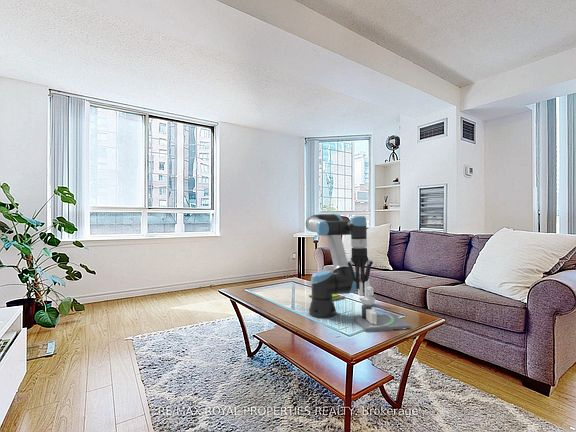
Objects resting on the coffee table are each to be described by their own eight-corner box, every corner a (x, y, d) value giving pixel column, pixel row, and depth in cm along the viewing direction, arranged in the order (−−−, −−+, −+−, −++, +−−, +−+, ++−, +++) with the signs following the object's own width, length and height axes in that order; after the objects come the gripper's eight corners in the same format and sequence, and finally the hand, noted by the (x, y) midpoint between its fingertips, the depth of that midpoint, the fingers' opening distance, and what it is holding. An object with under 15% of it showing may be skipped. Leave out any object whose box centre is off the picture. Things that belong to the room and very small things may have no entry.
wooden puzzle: (325, 303, 191) (324, 297, 191) (307, 297, 207) (307, 292, 207) (345, 299, 200) (345, 293, 201) (327, 293, 217) (327, 288, 217)
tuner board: (365, 331, 141) (365, 327, 141) (353, 319, 159) (353, 315, 159) (410, 328, 143) (410, 325, 143) (393, 316, 161) (393, 313, 161)
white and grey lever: (360, 316, 157) (360, 304, 157) (369, 315, 158) (369, 304, 158) (370, 325, 143) (370, 312, 144) (380, 324, 144) (380, 312, 144)
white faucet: (368, 307, 179) (367, 281, 179) (357, 303, 187) (357, 279, 188) (377, 305, 183) (376, 280, 183) (366, 301, 191) (365, 278, 191)
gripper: (348, 248, 144) (350, 298, 143) (374, 247, 145) (376, 296, 145) (344, 247, 151) (345, 294, 151) (369, 246, 153) (370, 293, 152)
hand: (360, 295), depth 148 cm, fingers closed
